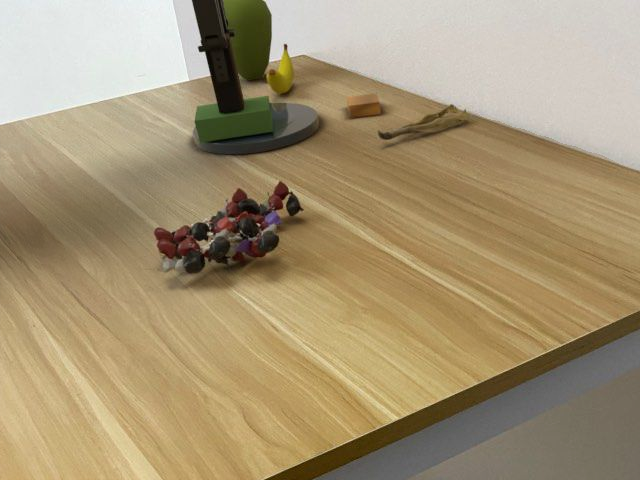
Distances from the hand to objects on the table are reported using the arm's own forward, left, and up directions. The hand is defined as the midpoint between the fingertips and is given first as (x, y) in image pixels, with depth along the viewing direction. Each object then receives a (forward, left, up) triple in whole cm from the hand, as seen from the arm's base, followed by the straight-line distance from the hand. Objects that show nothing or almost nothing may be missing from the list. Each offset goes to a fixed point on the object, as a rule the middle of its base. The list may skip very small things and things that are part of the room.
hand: (231, 105), depth 98 cm
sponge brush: (0, 0, -3) cm, 3 cm away
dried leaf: (+22, -6, -2) cm, 23 cm away
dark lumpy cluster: (+1, -33, -5) cm, 34 cm away
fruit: (+6, +20, -4) cm, 21 cm away
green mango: (+1, +29, -4) cm, 29 cm away
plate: (+2, +3, -4) cm, 6 cm away
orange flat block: (+16, +6, -4) cm, 18 cm away
